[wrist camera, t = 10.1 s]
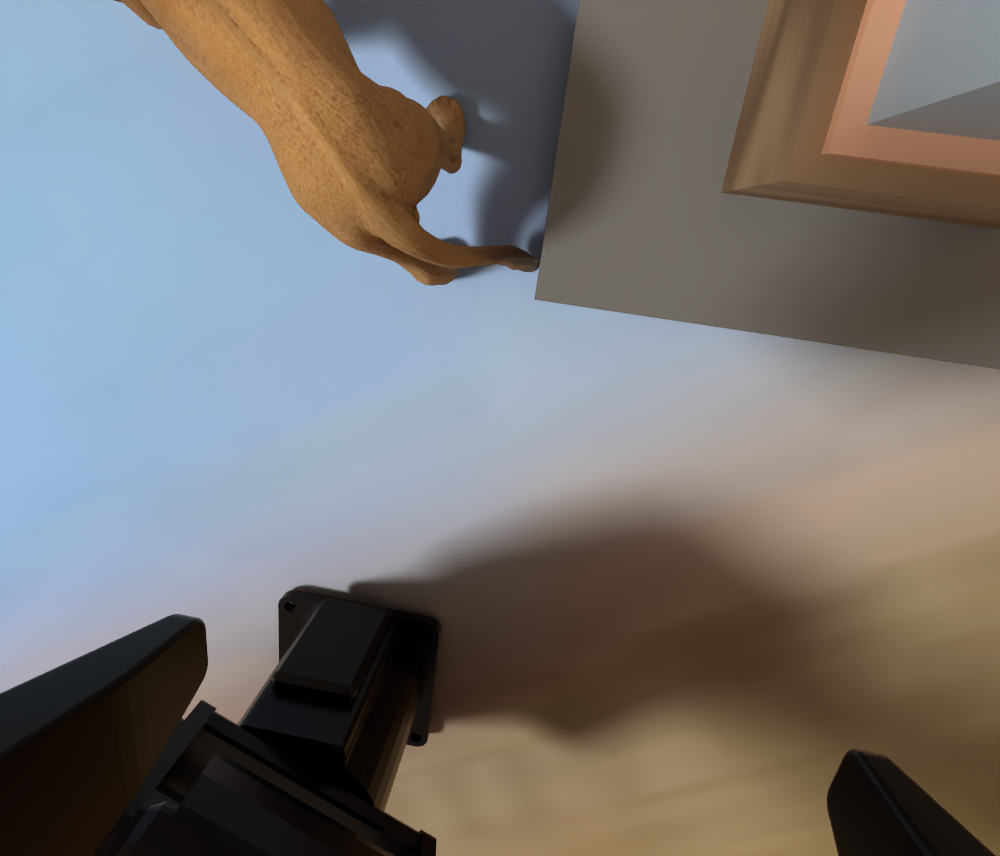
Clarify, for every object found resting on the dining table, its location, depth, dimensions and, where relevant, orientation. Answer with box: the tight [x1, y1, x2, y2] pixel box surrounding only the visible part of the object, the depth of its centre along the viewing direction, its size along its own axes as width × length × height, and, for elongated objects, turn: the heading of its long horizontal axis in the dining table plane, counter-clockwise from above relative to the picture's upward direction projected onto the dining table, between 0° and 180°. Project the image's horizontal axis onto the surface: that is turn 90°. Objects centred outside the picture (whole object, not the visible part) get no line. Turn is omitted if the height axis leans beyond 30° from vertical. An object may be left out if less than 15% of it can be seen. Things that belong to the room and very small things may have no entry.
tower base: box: [535, 0, 1000, 369], centre depth 12 cm, size 14×16×6 cm
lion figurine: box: [115, 0, 540, 285], centre depth 12 cm, size 15×5×9 cm, turn 52°
